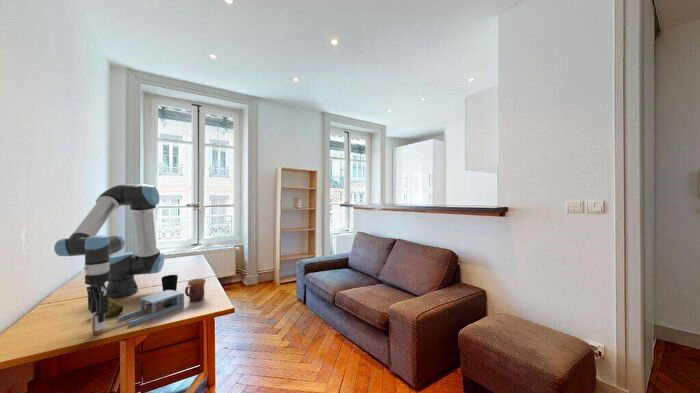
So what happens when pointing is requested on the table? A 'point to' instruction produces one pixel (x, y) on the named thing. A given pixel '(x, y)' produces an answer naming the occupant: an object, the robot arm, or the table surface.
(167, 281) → the cup
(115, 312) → the dirty green tuber
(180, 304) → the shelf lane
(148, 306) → the wooden mallet
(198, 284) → the mug
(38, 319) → the table surface
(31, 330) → the table surface
